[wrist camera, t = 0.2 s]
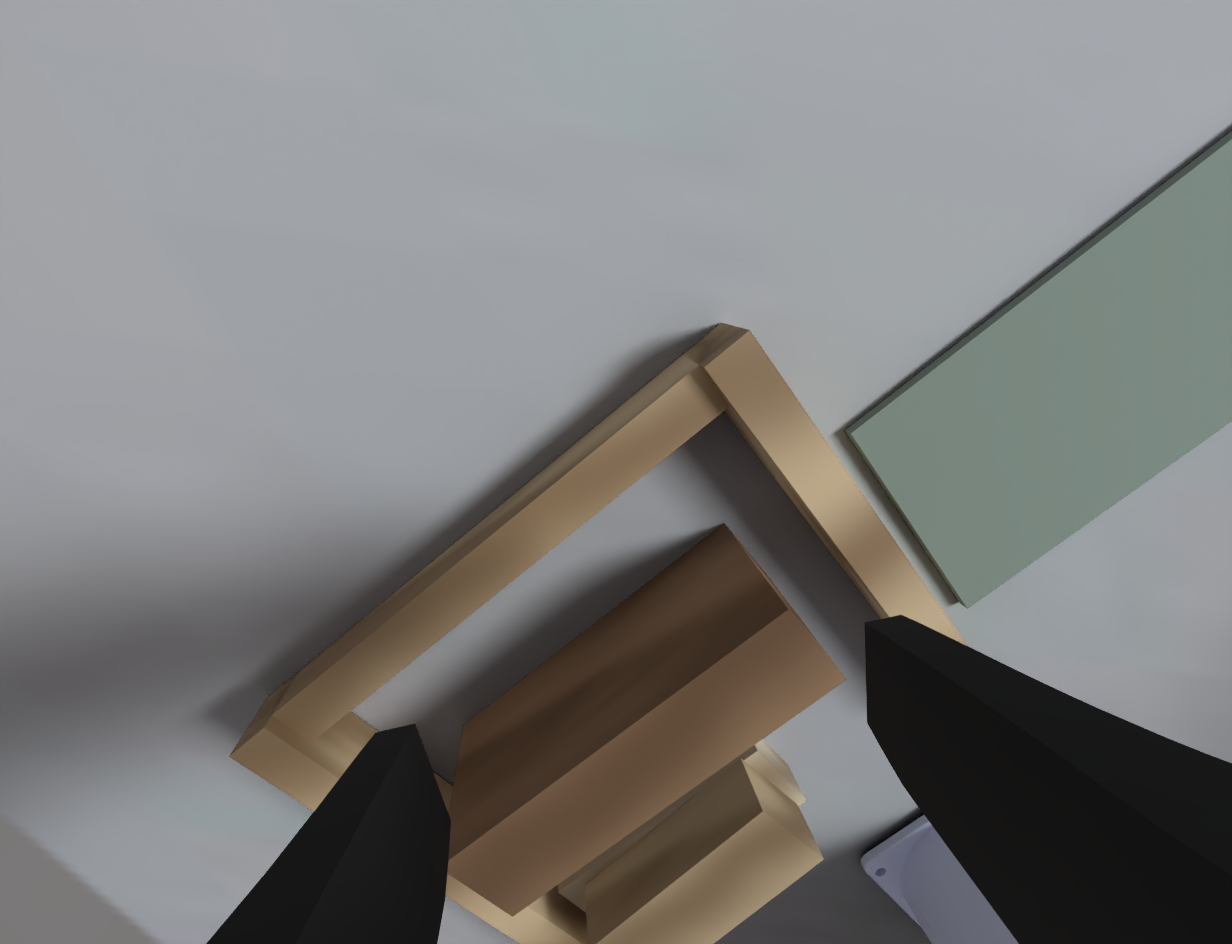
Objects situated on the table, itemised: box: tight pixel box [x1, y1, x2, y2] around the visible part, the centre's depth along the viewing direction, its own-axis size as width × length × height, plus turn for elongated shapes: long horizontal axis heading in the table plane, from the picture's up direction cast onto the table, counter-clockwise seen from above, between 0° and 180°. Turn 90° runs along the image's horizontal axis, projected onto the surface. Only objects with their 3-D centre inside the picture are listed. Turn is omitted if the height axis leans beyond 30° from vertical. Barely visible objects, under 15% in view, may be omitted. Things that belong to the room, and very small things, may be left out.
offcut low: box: [558, 739, 806, 912], centre depth 23 cm, size 4×10×2 cm, turn 129°
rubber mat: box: [845, 131, 1232, 609], centre depth 19 cm, size 9×18×1 cm, turn 129°
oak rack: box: [229, 323, 967, 944], centre depth 20 cm, size 17×20×2 cm
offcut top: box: [584, 758, 824, 944], centre depth 21 cm, size 4×8×2 cm, turn 133°
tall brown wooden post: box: [447, 523, 846, 917], centre depth 18 cm, size 3×12×6 cm, turn 129°
